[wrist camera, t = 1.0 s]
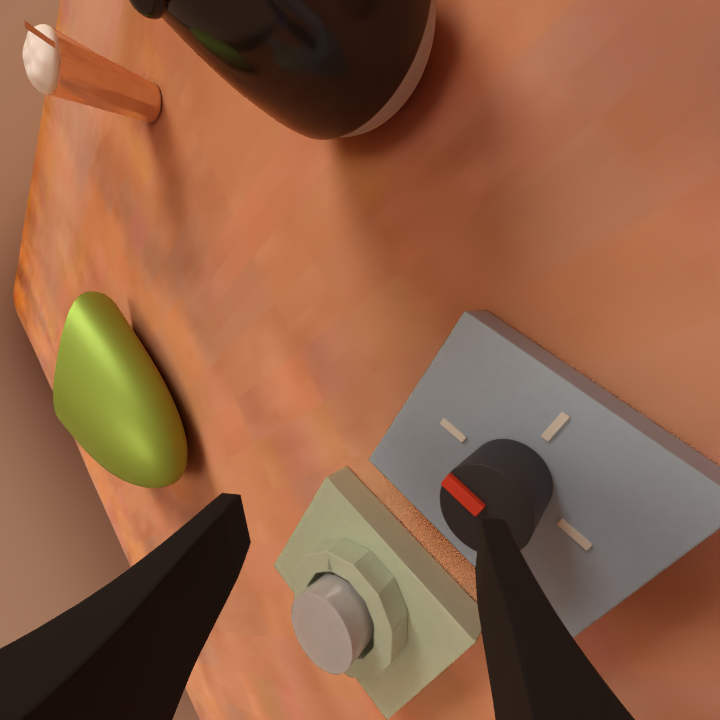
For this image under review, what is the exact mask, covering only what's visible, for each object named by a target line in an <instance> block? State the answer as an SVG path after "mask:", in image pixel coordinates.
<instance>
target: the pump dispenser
mask: <svg viewBox="0 0 720 720" xmlns="http://www.w3.org/2000/svg"><path fill="white" fill-rule="evenodd" d="M129 1H130V3H131V4H132V6H133V7H134V8H135V9H136V10H137V11H138V12H139V13H140V14H142V15H143V16H145V17H147V18H150V19H159V18H163V19H164V20H165V21H166V22H167V24H168V25H169V26H170V27H171V28H172V29H173V30H174V31H175V32H176V33H177V34H178V35H179V36H180V37H181V38H182V39H183V40H184V41H185V42H186V43H187V44H188V45H189V46H190V47H191V48H192V49H193V50H194V51H195V52H196V53H197V54H198V55H199V56H200V57H201V58H202V59H203V60H204V61H205V62H206V63H207V64H208V65H209V66H210V67H211V68H212V69H213V70H214V71H215V72H216V73H218V74H219V75H220V76H221V77H222V78H223V79H224V80H225V81H226V82H227V83H229V84H230V85H231V86H232V87H233V88H234V89H236V90H237V91H238V92H239V93H240V94H242V95H243V96H244V97H245V98H247V99H248V100H249V101H250V102H252V103H253V104H254V105H256V106H257V107H258V108H260V109H261V110H262V111H264V112H265V113H267V114H268V115H269V116H271V117H272V118H274V119H275V120H276V121H278V122H279V123H281V124H282V125H284V126H286V127H287V128H289V129H291V130H293V131H295V132H297V133H299V134H301V135H303V136H306V137H308V138H312V139H318V140H328V139H334V138H338V137H351V136H356V135H360V134H363V133H366V132H368V131H371V130H373V129H375V128H377V127H378V126H380V125H382V124H383V123H385V122H386V121H387V120H389V119H390V118H391V117H392V116H393V115H394V114H395V113H396V112H397V111H398V110H399V109H400V108H401V107H402V106H403V105H404V104H405V102H406V101H407V100H408V98H409V97H410V96H411V94H412V93H413V91H414V90H415V88H416V86H417V84H418V83H419V80H420V78H421V76H422V74H423V72H424V69H425V67H426V65H427V62H428V59H429V56H430V52H431V48H432V44H433V38H434V33H435V24H436V0H129Z"/></svg>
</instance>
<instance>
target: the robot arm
mask: <svg viewBox="0 0 720 720" xmlns="http://www.w3.org/2000/svg"><path fill="white" fill-rule="evenodd" d="M250 543H251V541H250V537H249V532H248V528H247V523H246V518H245V514H244V509H243V505H242V500H241V496H240V495H238V494H227V493H222V494H220V495H219V496H218V497H217V498H216V499H214V500H213V501H212V502H211V503H210V504H208V505H207V506H206V507H205V508H204V509H203V510H201V511H200V512H199V513H198V514H197V515H195V516H194V517H193V518H192V519H191V520H190V521H188V522H187V523H186V524H185V525H184V526H182V527H181V528H180V529H179V530H178V531H176V532H175V533H174V534H173V535H172V536H170V537H169V538H168V539H167V540H166V541H164V542H163V543H162V544H161V545H159V546H158V547H157V548H156V549H154V550H153V551H152V552H150V553H149V554H148V555H146V556H145V557H144V558H143V559H141V560H140V561H139V562H137V563H136V564H135V565H133V566H132V567H131V568H130V569H128V570H127V571H126V572H124V573H123V574H121V575H120V576H119V577H118V578H116V579H114V580H113V581H112V582H111V583H109V584H107V585H106V586H105V587H103V588H101V589H100V590H98V591H97V592H95V593H94V594H92V595H91V596H89V597H88V598H86V599H85V600H83V601H82V602H80V603H79V604H77V605H76V606H74V607H72V608H70V609H69V610H67V611H66V612H64V613H62V614H60V615H59V616H57V617H56V618H54V619H52V620H51V621H49V622H47V623H46V624H44V625H42V626H41V627H39V628H37V629H35V630H34V631H32V632H30V633H28V634H27V635H25V636H23V637H21V638H19V639H17V640H16V641H14V642H12V643H10V644H8V645H6V646H4V647H3V648H1V649H0V720H172V719H173V716H174V714H175V711H176V709H177V706H178V704H179V701H180V698H181V696H182V694H183V691H184V689H185V686H186V684H187V681H188V679H189V676H190V674H191V672H192V669H193V667H194V665H195V663H196V661H197V659H198V656H199V654H200V652H201V650H202V648H203V646H204V644H205V642H206V640H207V638H208V636H209V634H210V632H211V630H212V628H213V626H214V624H215V622H216V620H217V619H218V617H219V615H220V613H221V611H222V609H223V607H224V605H225V603H226V601H227V599H228V597H229V595H230V593H231V591H232V588H233V586H234V584H235V582H236V580H237V578H238V576H239V573H240V571H241V568H242V566H243V563H244V560H245V557H246V555H247V552H248V549H249V546H250ZM475 572H476V588H477V603H478V612H479V618H480V624H481V630H482V637H483V643H484V649H485V655H486V661H487V667H488V673H489V679H490V685H491V691H492V697H493V703H494V711H495V718H496V720H635V719H634V718H633V717H632V716H631V714H630V713H629V712H628V711H627V709H626V708H625V707H624V706H623V704H622V703H621V702H620V701H619V699H618V698H617V697H616V695H615V694H614V693H613V692H612V690H611V689H610V688H609V686H608V685H607V684H606V683H605V681H604V680H603V679H602V677H601V676H600V675H599V673H598V672H597V671H596V669H595V668H594V667H593V665H592V664H591V663H590V661H589V660H588V658H587V657H586V656H585V654H584V653H583V651H582V650H581V649H580V647H579V646H578V644H577V643H576V641H575V640H574V639H573V637H572V636H571V634H570V633H569V631H568V630H567V628H566V627H565V625H564V624H563V622H562V621H561V619H560V618H559V616H558V614H557V613H556V611H555V610H554V608H553V607H552V605H551V603H550V602H549V600H548V598H547V597H546V595H545V593H544V592H543V590H542V588H541V587H540V585H539V583H538V582H537V580H536V578H535V577H534V575H533V573H532V571H531V570H530V568H529V566H528V564H527V562H526V560H525V558H524V557H523V555H522V553H521V551H520V549H519V547H518V545H517V543H516V541H515V539H514V537H513V535H512V533H511V530H510V528H509V526H508V523H507V522H506V521H505V520H503V519H492V518H482V517H481V521H480V530H479V539H478V548H477V557H476V566H475Z"/></svg>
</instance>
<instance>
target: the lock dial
mask: <svg viewBox="0 0 720 720" xmlns="http://www.w3.org/2000/svg"><path fill="white" fill-rule="evenodd" d="M441 485H442V486H441V489H440V507H441V511H442V514H443V517H444V519H445V521H446V523H447V525H448V527H449V528H450V530H451V531H452V532H453V534H454V535H455V536H456V537H457V538H458V539H459V540H460V541H461V542H462V543H464V544H465V545H466V546H468V547H469V548H471V549H473V550H474V551H476V552H477V548H478V539H479V530H480V521H481V517H482V518H492V519H503V520H505V521H506V522H507V523H508V526H509V528H510V530H511V533H512V535H513V537H514V539H515V541H516V543H517V545H518V547H519V549H520V550H522V549H523V548H524V547H525V546H526V545H527V544H528V542H529V541H530V539H531V537H532V535H533V533H534V531H535V529H536V527H537V525H538V523H539V521H540V519H541V517H542V515H543V513H544V511H545V509H546V507H547V505H548V504H549V502H550V499H551V497H552V492H553V481H552V477H551V473H550V471H549V468H548V467H547V465H546V463H545V462H544V460H543V459H542V458H541V457H540V456H539V454H537V453H536V452H535V451H534V450H533V449H531V448H530V447H528V446H527V445H525V444H523V443H520V442H518V441H514V440H510V439H496V440H491V441H489V442H487V443H485V444H483V445H482V446H480V447H479V448H478V449H477V450H476V451H474V452H473V453H472V454H471V455H470V456H468V457H467V458H466V459H465V460H464V461H462V462H461V463H460V464H459V465H458V466H457V467H455V468H454V469H453V470H452V471H451V472H450V473H449V474H448V475H447V476H446V477H445V479H444V480H443V481H442V482H441Z"/></svg>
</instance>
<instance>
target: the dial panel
mask: <svg viewBox="0 0 720 720" xmlns="http://www.w3.org/2000/svg"><path fill="white" fill-rule="evenodd" d="M496 439H510V440H514V441H518V442H520V443H523V444H525V445H527V446H528V447H530V448H531V449H533V450H534V451H535V452H536V453H537V454H539V456H540V457H541V458H542V459H543V460H544V462H545V463H546V465H547V467H548V468H549V471H550V473H551V477H552V481H553V492H552V497H551V499H550V502H549V504H548V505H547V507H546V509H545V511H544V513H543V515H542V517H541V519H540V521H539V523H538V525H537V527H536V529H535V531H534V533H533V535H532V537H531V539H530V541H529V542H528V544H527V545H526V546H525V547H524V548H523V549H522V550H520V551H521V553H522V555H523V557H524V558H525V560H526V562H527V564H528V566H529V568H530V570H531V571H532V573H533V575H534V577H535V578H536V580H537V582H538V583H539V585H540V587H541V588H542V590H543V592H544V593H545V595H546V597H547V598H548V600H549V602H550V603H551V605H552V607H553V608H554V610H555V611H556V613H557V614H558V616H559V618H560V619H561V621H562V622H563V624H564V625H565V627H566V628H567V630H568V631H569V633H570V634H571V636H572V637H573V638H574V637H575V636H577V635H578V634H579V633H581V632H582V631H583V630H585V629H586V628H587V627H589V626H590V625H591V624H593V623H594V622H595V621H597V620H598V619H599V618H601V617H602V616H603V615H605V614H606V613H607V612H609V611H610V610H611V609H613V608H614V607H615V606H617V605H618V604H619V603H621V602H622V601H623V600H625V599H626V598H627V597H629V596H630V595H631V594H633V593H634V592H635V591H637V590H638V589H639V588H641V587H642V586H643V585H645V584H646V583H648V582H649V581H650V580H652V579H653V578H654V577H656V576H657V575H658V574H660V573H661V572H662V571H664V570H665V569H666V568H668V567H669V566H670V565H672V564H673V563H674V562H676V561H677V560H678V559H680V558H681V557H682V556H684V555H685V554H686V553H688V552H689V551H690V550H692V549H693V548H694V547H696V546H697V545H698V544H700V543H701V542H702V541H704V540H705V539H706V538H708V537H709V536H710V535H712V534H713V533H714V532H716V531H717V530H719V529H720V466H718V465H717V464H715V463H714V462H712V461H711V460H709V459H708V458H706V457H705V456H703V455H702V454H700V453H699V452H697V451H696V450H694V449H693V448H691V447H690V446H689V445H687V444H686V443H684V442H683V441H681V440H680V439H678V438H677V437H675V436H674V435H672V434H671V433H669V432H668V431H666V430H665V429H663V428H662V427H660V426H659V425H657V424H656V423H654V422H653V421H651V420H650V419H648V418H647V417H645V416H644V415H642V414H641V413H639V412H638V411H636V410H635V409H633V408H632V407H630V406H629V405H627V404H626V403H624V402H623V401H621V400H620V399H618V398H617V397H615V396H614V395H612V394H611V393H609V392H608V391H606V390H605V389H603V388H602V387H600V386H599V385H597V384H596V383H594V382H593V381H591V380H590V379H588V378H587V377H585V376H584V375H582V374H581V373H579V372H578V371H576V370H575V369H573V368H572V367H570V366H569V365H567V364H566V363H564V362H563V361H561V360H560V359H558V358H557V357H555V356H554V355H552V354H551V353H549V352H548V351H547V350H545V349H544V348H542V347H541V346H539V345H538V344H536V343H535V342H533V341H532V340H530V339H529V338H527V337H526V336H524V335H523V334H521V333H520V332H518V331H517V330H515V329H514V328H512V327H511V326H509V325H508V324H506V323H505V322H503V321H502V320H500V319H499V318H497V317H496V316H494V315H493V314H491V313H490V312H488V311H486V310H483V311H465V312H464V313H463V314H462V316H461V318H460V319H459V321H458V322H457V324H456V325H455V327H454V328H453V330H452V331H451V333H450V335H449V336H448V338H447V339H446V341H445V342H444V344H443V345H442V347H441V348H440V350H439V352H438V353H437V355H436V356H435V358H434V359H433V361H432V362H431V364H430V366H429V367H428V369H427V370H426V372H425V373H424V375H423V376H422V378H421V379H420V381H419V383H418V384H417V386H416V387H415V389H414V390H413V392H412V393H411V395H410V396H409V398H408V400H407V401H406V403H405V404H404V406H403V407H402V409H401V410H400V412H399V413H398V415H397V417H396V418H395V420H394V421H393V423H392V424H391V426H390V427H389V429H388V431H387V432H386V434H385V435H384V437H383V438H382V440H381V441H380V443H379V444H378V446H377V448H376V449H375V451H374V452H373V454H372V455H371V457H370V458H369V461H370V462H371V463H372V464H373V465H374V466H375V467H376V468H377V469H378V470H379V471H380V472H381V473H382V474H383V475H384V476H385V477H386V478H387V479H388V480H389V481H390V482H391V483H392V484H393V485H394V486H395V487H396V488H397V489H398V490H399V491H400V492H401V493H402V494H403V495H404V496H405V497H406V498H407V499H408V500H409V501H410V502H411V503H412V504H413V505H414V506H415V507H416V508H417V509H418V510H419V511H420V512H421V513H422V514H423V515H424V516H425V517H426V518H427V519H428V520H429V521H430V522H431V523H432V524H433V525H434V526H435V527H436V528H437V529H438V530H439V531H440V533H441V534H442V535H443V536H444V537H445V538H446V539H447V540H448V541H449V542H450V543H451V544H452V545H453V546H454V547H455V548H456V549H457V550H458V551H459V552H460V553H461V554H462V555H463V556H464V557H465V558H466V559H467V560H468V561H469V562H470V563H471V564H472V565H473V566H474V567H475V566H476V557H477V552H476V551H474V550H473V549H471V548H469V547H468V546H466V545H465V544H464V543H462V542H461V541H460V540H459V539H458V538H457V537H456V536H455V535H454V534H453V532H452V531H451V530H450V528H449V527H448V525H447V523H446V521H445V519H444V517H443V514H442V511H441V507H440V489H441V486H442V485H441V482H442V481H443V480H444V479H445V477H446V476H447V475H448V474H449V473H450V472H451V471H452V470H453V469H454V468H455V467H457V466H458V465H459V464H460V463H461V462H462V461H464V460H465V459H466V458H467V457H468V456H470V455H471V454H472V453H473V452H474V451H476V450H477V449H478V448H479V447H480V446H482V445H483V444H485V443H487V442H489V441H491V440H496Z"/></svg>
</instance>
